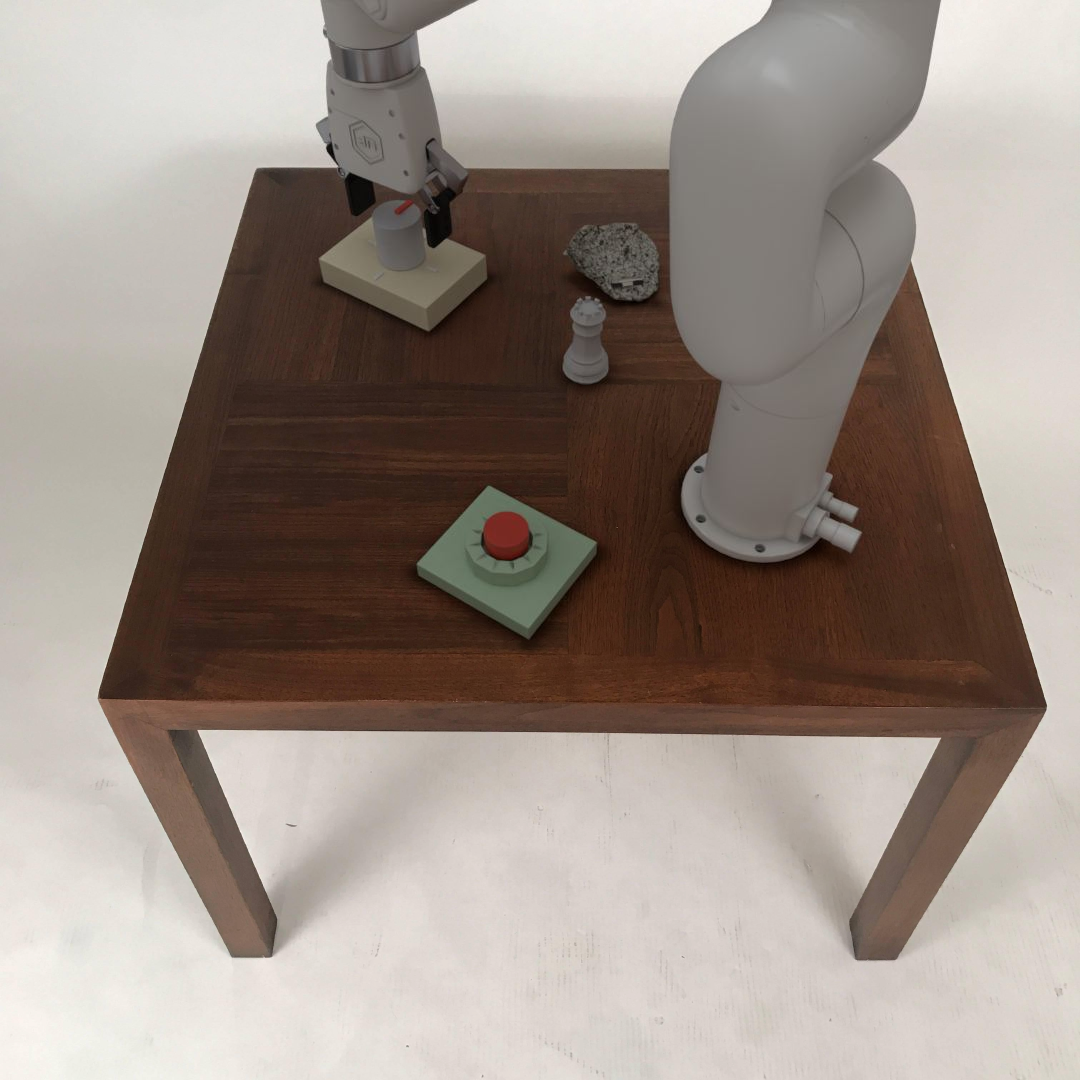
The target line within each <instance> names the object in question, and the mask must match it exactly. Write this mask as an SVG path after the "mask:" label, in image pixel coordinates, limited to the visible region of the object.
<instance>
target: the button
mask: <svg viewBox="0 0 1080 1080" xmlns="http://www.w3.org/2000/svg"><path fill="white" fill-rule="evenodd" d="M483 532H484V544H485V548H486V550H487V552H488V553H489V554H490V555H491V556H493V557H495V558H497V559H500V560H512V559H516V558H518V557H520V556H522V555H523V554H524V553H525V552H526V550H527V549H528V546H529V525H528V523H527V521H526V520H525V518H524V517H522V516H521V515H519V514H517V513H515V512H509V511H504V512H499V513H496V514H494V515H492V516H491V517H490V518H489V519H488V520H487V521H486V522H485V525H484V528H483Z"/></svg>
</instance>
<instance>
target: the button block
mask: <svg viewBox="0 0 1080 1080" xmlns="http://www.w3.org/2000/svg"><path fill="white" fill-rule="evenodd" d="M504 511H509V512H515V513H517V514H519V515H521V516H522V517H524V518H525V520H526V521H527V523H528V525H529V546H528V549H527V550H526V552H525V553H524V554H523V555H522V556H520V557H518V558H516V559H512V560H500V559H497V558H495V557H493V556H491V555H490V554H489V553H488V552H487V550H486V548H485V544H484V532H483V528H484V525H485V522H486V521H487V520H488V519H489V518H490V517H491V516H492V515H494V514H496V513H499V512H504ZM597 547H598V542H597V541H595V540H593V539H591V538H590V537H588V536H586V535H584V534H582V533H580V532H578V531H576V530H574V529H572V528H571V527H569V526H567V525H565V524H563V523H562V522H559V521H557V520H555V519H554V518H552V517H550V516H547V515H546V514H544V513H543V512H540V511H538V510H536V509H535V508H533V507H530V506H529V505H527V504H525V503H523V502H521V501H519V500H517V499H515V498H514V497H512V496H510V495H508V494H506V493H504V492H503V491H500V490H498V489H497V488H494V487H492V486H490V485H487V487H485V489H483V491H482V492H481V493H480V494H479V495H478V496H477V497H476V498H475V499H474V500H473V501H472V503H471V504H469V506H468V507H467V508H466V509H465V511H463V512H462V514H460V516H458V518H457V519H456V520H455V522H453V523H452V524H451V525H450V527H449V528H448V529H447V530H446V531H445V532H444V533H443V534H442V536H440V537H439V538H438V540H436V541H435V543H434V544H433V545H432V546H431V547H430V548H429V549H428V551H426V552H425V554H424V555H423V556H422V557H421V558H420V560H419V561H418V562H417V563H416V569H417V575H418V576H419V577H420V578H422V579H424V580H426V581H427V582H429V583H430V584H433V585H434V586H436V587H438V588H439V589H441V590H442V591H444V592H446V593H447V594H449V595H451V596H453V597H455V598H457V599H458V600H460V601H462V602H463V603H465V604H467V605H469V606H470V607H472V608H474V609H475V610H477V611H479V612H480V613H482V614H484V615H485V616H488V617H489V618H491V619H493V620H495V621H496V622H498V623H500V624H502V625H503V626H504V627H506V628H508V629H510V630H511V631H513V632H515V633H517V634H519V636H522V637H524V638H525V639H527V640H530V639H531V637H532V636H533V635H534V634H535V633H536V631H537V630H539V627H540V626H541V625H542V624H543V622H544V621H545V620H546V619H547V618H548V616H549V615H550V613H551V612H552V611H553V610H554V608H555V607H556V606H557V604H558V603H559V602H560V601H561V599H562V598H563V597H564V596H565V594H566V593H567V592H568V591H569V589H570V588H571V587H572V585H573V584H575V582H576V580H578V578H579V577H580V575H581V574H582V573H583V572H584V570H585V569H586V568H587V567H588V565H589V564H590V563H591V561H592V560H593V559H594V557H595V556H596V555H597V550H598V549H597Z"/></svg>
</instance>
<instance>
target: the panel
mask: <svg viewBox="0 0 1080 1080" xmlns="http://www.w3.org/2000/svg"><path fill="white" fill-rule="evenodd" d="M423 237H424V245H425V254H426V255H425V259H424V261H423V262H422V263H421V264H420V265H419V266H417V267H415V268H413V269H410V270H406V271H395V270H390V269H388V268H386V267H384V266H383V265H382V264H381V263H380V261H379V258H378V251H377V245H376V239H375V233H374V227H373V221H372V216H371V217H370V218H368V219H367V220H366V221H364V222H363V223H362V224H361V225H359V226H358V227H357V228H356V229H354V230H353V231H351V232H350V233H349V234H348V235H347V236H345V237H344V238H343V239H341V241H339V242H338V243H337V244H335V245H334V246H332V247H331V248H330V249H329V250H328V251H327V252H325V253H324V254H322V255H321V256H320V257H318V263H319V267H320V272H321V277H322V280H323V283H324V284H326V285H327V284H328V285H329V286H331V287H334V288H336V289H338V290H339V291H342V292H344V293H346V294H348V295H350V296H353V297H355V298H357V299H359V300H361V301H363V302H365V303H368V304H370V305H372V306H373V307H376V308H378V309H380V310H382V311H384V312H387V313H389V314H390V315H392V316H395V317H397V318H399V319H401V320H403V321H405V322H408V323H409V324H412V325H414V326H416V327H418V328H420V329H422V330H424V331H426V332H431V331H432V330H433V329H434V328H435V327H436V326H437V325H438V324H440V322H441V321H442V320H444V319H445V318H447V316H448V315H449V314H450V313H452V311H453V310H454V309H456V308H457V307H458V306H459V305H460V304H461V303H462V302H463V301H464V300H466V299H467V298H468V297H469V296H470V295H471V294H472V293H473V292H475V290H476V289H477V288H479V287H480V286H481V285H482V284H483V283H485V282H486V281H487V280H488V271H487V270H488V269H487V268H488V267H487V255H486V254H484V253H482V252H479V251H477V250H474V249H472V248H470V247H467V246H465V245H463V244H460V243H458V242H456V241H454V240H452V239H448V238H446V239H445V240H444V241H443V242H442V243H440V244H439V245H438V246H437V247H436V248H434V249H433V248H431V247H429V246H428V244H427V238H426V231H425V228H423Z"/></svg>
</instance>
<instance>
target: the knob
mask: <svg viewBox="0 0 1080 1080" xmlns="http://www.w3.org/2000/svg"><path fill="white" fill-rule="evenodd" d="M371 217H372V221H373V227H374V233H375V239H376V245H377V251H378V258H379V261H380V263H381V264H382V265H383V266H384V267H386V268H388V269H390V270H395V271H406V270H410V269H413V268H415V267H417V266H419V265H420V264H421V263H422V262H423V261H424V259H425V255H426V254H425V245H424V237H423V229H424V227H423V221H422V212H421V209H420V208H419V206H418V205H416V204H415V203H414V200H412V199H410V198H408V199H407V200H405V199H403V200H402V199H393V200H388V201H386V202H383V203H381V204H379V205H377V206H376V207H375V208H374V209H373V211H372V214H371Z"/></svg>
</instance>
